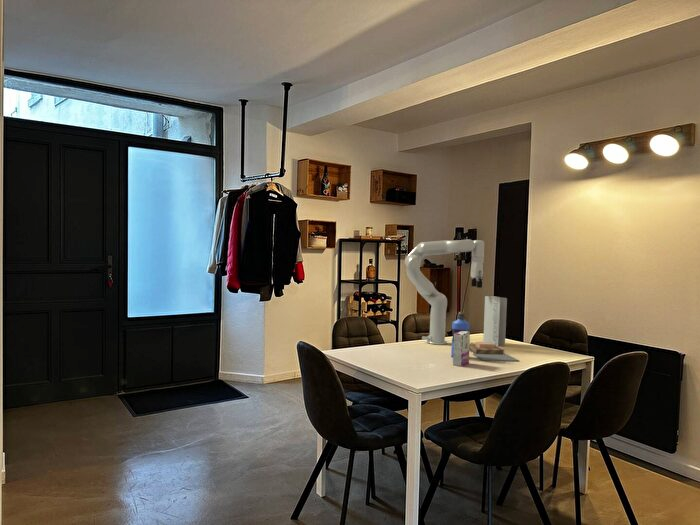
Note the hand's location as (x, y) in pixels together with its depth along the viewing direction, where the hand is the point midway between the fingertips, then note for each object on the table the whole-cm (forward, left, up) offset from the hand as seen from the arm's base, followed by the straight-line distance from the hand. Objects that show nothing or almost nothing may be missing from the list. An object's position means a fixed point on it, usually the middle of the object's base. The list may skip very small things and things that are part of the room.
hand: (476, 286), depth 333 cm
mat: (-3, -43, -36) cm, 56 cm away
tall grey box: (+13, +1, -36) cm, 39 cm away
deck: (-3, -28, -36) cm, 46 cm away
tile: (-3, -26, -33) cm, 42 cm away
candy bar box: (-28, -60, -36) cm, 76 cm away
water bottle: (-23, -42, -36) cm, 60 cm away
